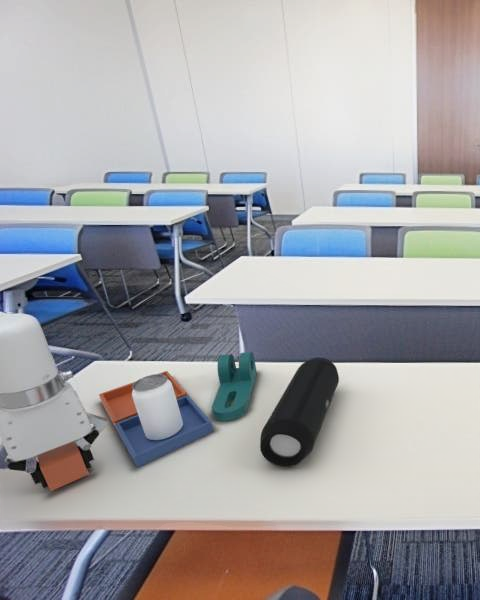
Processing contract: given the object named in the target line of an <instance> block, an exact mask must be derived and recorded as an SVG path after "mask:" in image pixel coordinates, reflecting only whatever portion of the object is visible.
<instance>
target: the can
mask: <svg viewBox="0 0 480 600" xmlns="http://www.w3.org/2000/svg"><path fill="white" fill-rule="evenodd" d="M134 382H135V383H134V384H133V386H132V388H133V391H132V397H133V400H134V403H135V406H136V409H137V412H138V415H139V418H140V421H141V424H142V427H143V430H144V433H145V436H146V437H147V438H148V439H150V440H154V441H159V440H164V439H167V438H170V437H172V436H174V435H175V434H177V433H178V432H179V431H180V429H181V428H182V426H183V421H182V417H181V414H180V410H179V407H178V403H177V400H176V396H175V393H174V389H173V386H172V383H171V382H170V381H169V380H168V378H167V376H166V375H163V374H159V373H154V374H149V375H146V376H143V377H141V378H139V379H137V380H136V381H134Z"/></svg>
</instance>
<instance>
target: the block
mask: <svg viewBox="0 0 480 600" xmlns="http://www.w3.org/2000/svg"><path fill="white" fill-rule="evenodd" d="M37 461H38V462H39V465H40V469H41V471H42V474H43V476H44V478H45V480H46V482H47V484H48V489H49V491H50V492H52V491H55V490H57V489H59V488H61V487H63V486H66V485H68V484H71V483H72V482H75V481H77V480H79V479H82V478H84V477H87V476H88V475H90V474H89V470H88V469H87V468H86V466H85V464H84V461H83V459H82V456H81V454H80V451H79V449H78V445H77V444H76V443H75V442H74V441H72V442H70V443H67V444H65V445H62V446H60V447H57V448H55V449H52V450H49V451H47V452H44V453H42V454H39V455H37Z"/></svg>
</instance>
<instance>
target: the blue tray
mask: <svg viewBox="0 0 480 600" xmlns="http://www.w3.org/2000/svg"><path fill="white" fill-rule="evenodd" d="M176 400H177V403H178V407H179V410H180V414H181V417H182V421H183V426H182V428H181V429H180V431H179V432H178V433H177V434H175V435H174V436H172V437H170V438H167V439H164V440H159V441H154V440H150V439H148V438H147V437H146V436H145V433H144V430H143V427H142V424H141V421H140V418H139V415H136V416H133V417H131V418H128V419H126V420H123V421H120V422H118V423H115V425H116V428H117V430H116V431H117V433H118V435H119V437H120V439H121V440H122V443H123V445H124V446H125V448H126V450H127V452H128V453H129V456H130V457H131V460H132V461H133V462H134V465H135V466H136V468H139V467H142V466H144V465H147V463H149V462H152V461H154V460H156V459H159V458H161V457H163V456H164V455H167V454H169V453H172V452H173V451H176V449H180V448H181V447H184V446H186V445H189V444H190V443H192V442H195V441H196V440H199V439H200V438H203V437H205V436H207V435H209V434H211V433H213V432H214V429H213V425H212V421H211V420H210V418H208V417H207V416H206V414H205V413H204V412H203V411H202V410H201V409H200V407H199V406H198V405H197V403H196V402H194V400H193V399H192V398H191V397H190V396H189V395H188V394H187V395H186V396H184V397H181V398H179V399H176ZM116 428H115V429H116Z"/></svg>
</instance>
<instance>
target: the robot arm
mask: <svg viewBox="0 0 480 600" xmlns="http://www.w3.org/2000/svg"><path fill="white" fill-rule="evenodd" d="M70 379H74V374H73V372H72V370H67V371H65V370H64V371H61V370H59V369H58V366H57V363H56V361H55V359H54V356H53V354H52V351H51V349H50V347H49V344H48V341H47V338H46V336H45V333H44V331H43V328H42V325H41V322H39V320H38V319H37V318H36V317H35V316H34V315H32V314H27V313H21V312H20V313H7V312H3V311H0V440H1V444H0V470H10V471H19V472H25V473H26V474H29V475H30V477H31V479H32V481H33V483H34V485H38V484H41V486H42V488H43V489H46V488H47V489H48V488H49V486H48V484H47V482H46V480H45V478H44V476H43V474H42V471H41V469H40V465H39V462H38V458H37V455H39V454H42V453H44V452H47V451H49V450H52V449H55V448H57V447H60V446H62V445H65V444H67V443H70V442H72V441H74V442H75V443H76V444H77V446H78V449H79V451H80V454H81V456H82V459H83V461H84V464H85V466H86V468H87V470H90V469H92V468H93V467H92V464H91V462H92V461H95V457H94V455H93V453H92V450H91V448H92V445H93V443H94V442H95V441H96V440H97V438H98V437H99V434H101V432H102V431H103V430H104V429H105V428H106V427H107V426H108V425H109V421H108V419H107V418H105V417H103V416H99V415H96V414H94V413H90V412H87V411H86V409H85V407H84V405H83V403H82V401H81V399H80V396H79V395H78V393H77V391H76V390H75V388H74V387H73V386H72V384H71V383H70V382H69V380H70ZM92 425H93V426H92Z"/></svg>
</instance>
